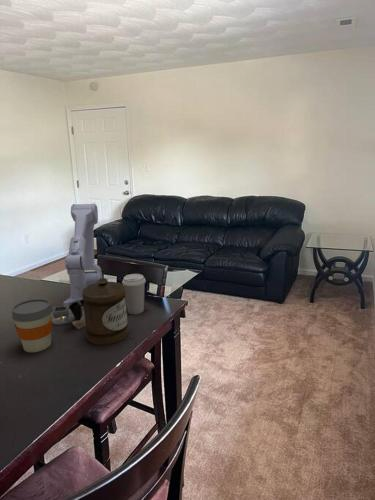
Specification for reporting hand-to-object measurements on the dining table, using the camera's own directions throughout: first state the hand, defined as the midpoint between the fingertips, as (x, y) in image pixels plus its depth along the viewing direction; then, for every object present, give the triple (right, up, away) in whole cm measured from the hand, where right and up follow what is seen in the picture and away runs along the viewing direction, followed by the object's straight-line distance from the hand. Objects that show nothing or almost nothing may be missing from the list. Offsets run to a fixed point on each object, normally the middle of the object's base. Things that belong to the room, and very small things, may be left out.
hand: (81, 317), depth 142 cm
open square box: (-9, +1, +3) cm, 10 cm away
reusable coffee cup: (-12, -7, -14) cm, 20 cm away
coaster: (0, -3, +1) cm, 3 cm away
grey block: (0, -2, +1) cm, 2 cm away
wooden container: (+12, -5, -8) cm, 15 cm away
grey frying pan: (-12, -2, +3) cm, 13 cm away
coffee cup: (+19, +1, +11) cm, 22 cm away
